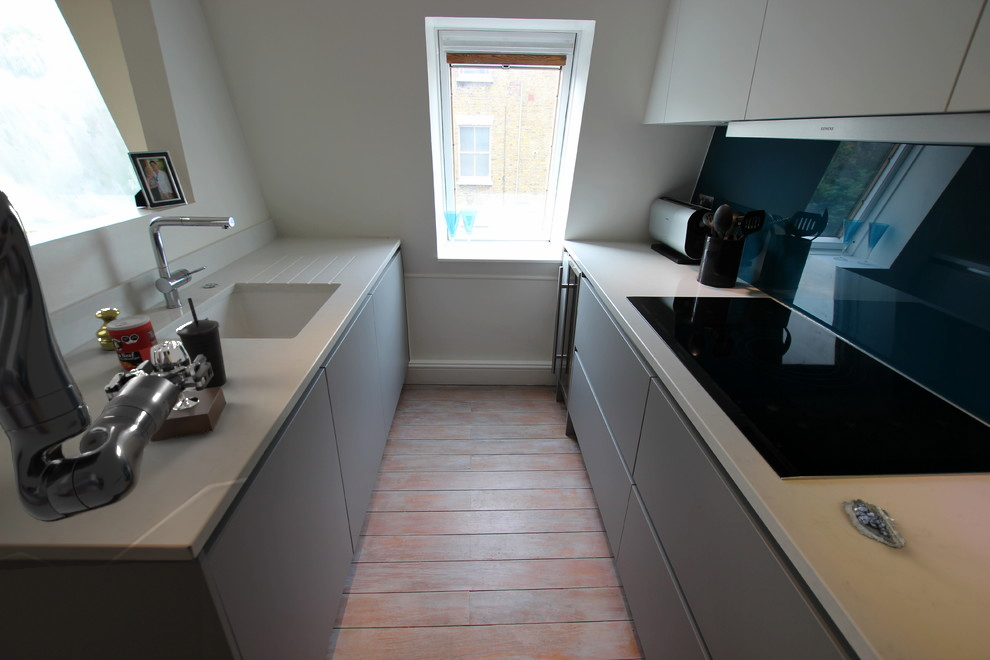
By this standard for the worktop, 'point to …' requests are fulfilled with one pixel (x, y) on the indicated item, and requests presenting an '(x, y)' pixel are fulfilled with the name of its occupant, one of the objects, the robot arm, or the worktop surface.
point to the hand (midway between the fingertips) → (176, 361)
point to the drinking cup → (204, 345)
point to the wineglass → (172, 365)
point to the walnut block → (194, 415)
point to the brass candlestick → (102, 333)
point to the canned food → (132, 340)
